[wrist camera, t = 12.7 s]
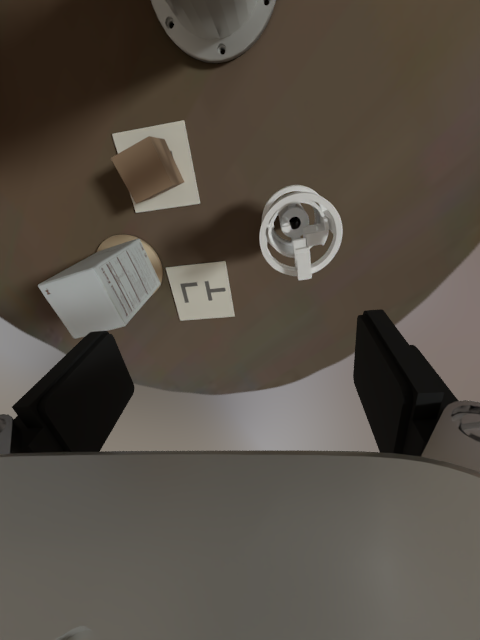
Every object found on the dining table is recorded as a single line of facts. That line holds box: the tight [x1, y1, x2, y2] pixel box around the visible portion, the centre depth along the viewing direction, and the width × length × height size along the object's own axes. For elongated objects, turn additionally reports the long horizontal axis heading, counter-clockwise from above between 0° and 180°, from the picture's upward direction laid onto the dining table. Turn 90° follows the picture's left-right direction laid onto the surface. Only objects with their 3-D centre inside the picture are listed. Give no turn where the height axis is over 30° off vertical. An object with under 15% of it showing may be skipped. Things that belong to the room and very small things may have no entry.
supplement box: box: [38, 239, 161, 339], centre depth 36 cm, size 7×7×13 cm
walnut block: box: [111, 136, 184, 204], centre depth 33 cm, size 5×5×5 cm
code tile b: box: [112, 120, 200, 213], centre depth 35 cm, size 9×9×1 cm
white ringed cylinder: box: [259, 185, 343, 280], centre depth 30 cm, size 7×7×15 cm
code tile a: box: [166, 261, 235, 321], centre depth 43 cm, size 9×9×1 cm
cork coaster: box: [97, 234, 163, 295], centre depth 42 cm, size 10×10×1 cm
